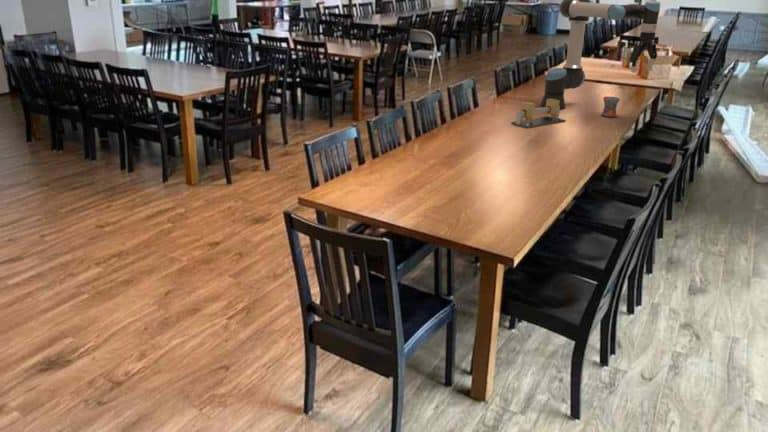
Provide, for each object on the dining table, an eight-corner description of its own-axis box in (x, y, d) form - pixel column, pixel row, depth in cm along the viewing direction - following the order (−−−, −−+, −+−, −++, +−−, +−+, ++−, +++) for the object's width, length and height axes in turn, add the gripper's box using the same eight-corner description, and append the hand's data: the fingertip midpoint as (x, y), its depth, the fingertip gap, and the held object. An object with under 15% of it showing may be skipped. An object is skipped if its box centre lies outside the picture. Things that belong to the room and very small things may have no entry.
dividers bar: (514, 123, 336) (516, 103, 332) (553, 116, 351) (555, 97, 347) (523, 125, 331) (525, 105, 326) (562, 119, 345) (565, 100, 341)
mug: (614, 118, 353) (617, 100, 349) (598, 116, 358) (601, 98, 354) (620, 114, 362) (623, 97, 357) (605, 112, 367) (607, 95, 363)
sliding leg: (544, 117, 347) (546, 99, 343) (549, 116, 349) (551, 98, 345) (554, 119, 342) (556, 101, 338) (559, 119, 344) (561, 100, 340)
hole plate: (511, 123, 339) (511, 121, 338) (549, 117, 353) (550, 114, 353) (526, 128, 329) (526, 125, 329) (565, 121, 344) (565, 119, 343)
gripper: (639, 33, 319) (632, 74, 327) (668, 31, 331) (661, 70, 340) (627, 32, 325) (621, 72, 333) (656, 30, 337) (649, 68, 345)
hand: (641, 71), depth 336 cm, fingers open, 13 cm apart
